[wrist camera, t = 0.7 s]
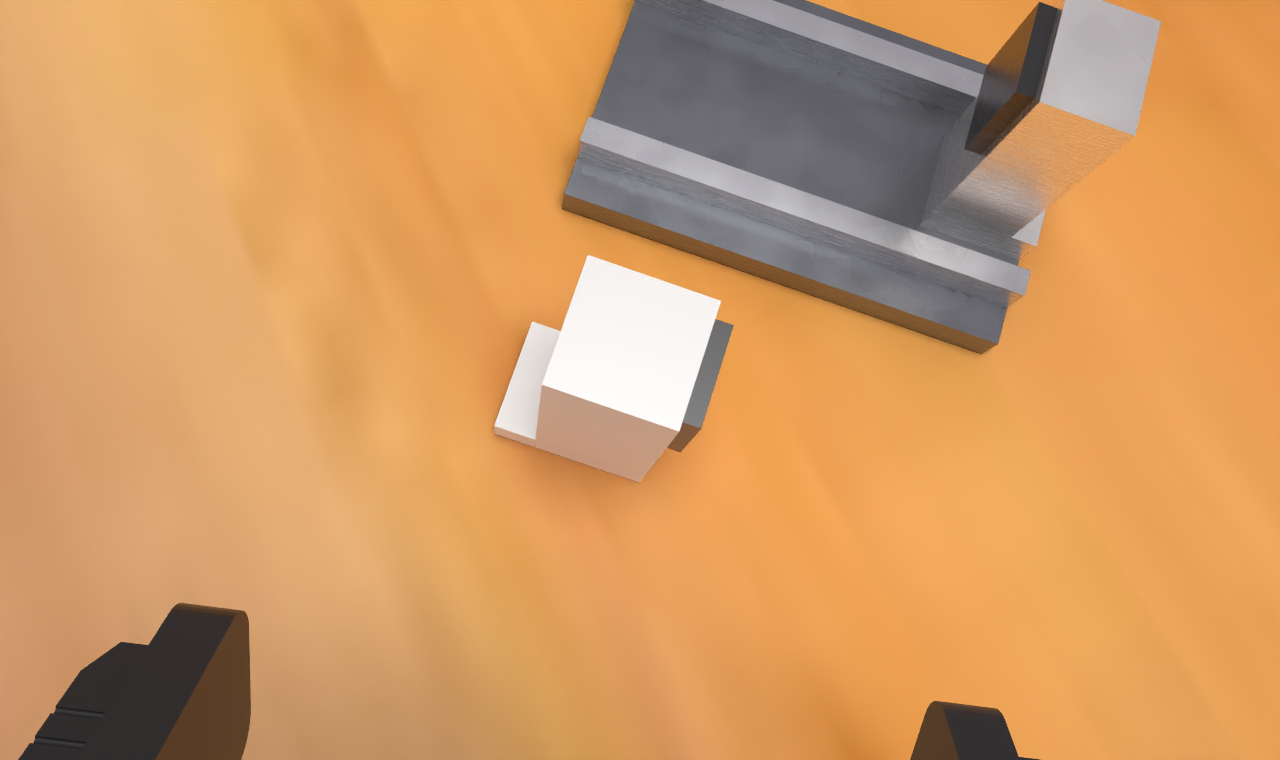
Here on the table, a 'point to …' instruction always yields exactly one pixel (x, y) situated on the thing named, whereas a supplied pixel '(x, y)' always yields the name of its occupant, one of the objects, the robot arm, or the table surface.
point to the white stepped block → (617, 372)
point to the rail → (858, 148)
